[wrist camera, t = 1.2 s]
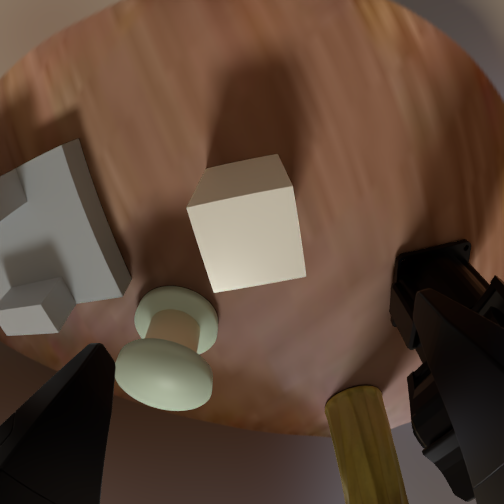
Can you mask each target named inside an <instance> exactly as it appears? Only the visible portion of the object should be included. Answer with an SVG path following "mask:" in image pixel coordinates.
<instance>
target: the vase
mask: <svg viewBox="0 0 504 504" xmlns="http://www.w3.org/2000/svg"><path fill="white" fill-rule="evenodd" d="M325 414H326V417H327V420H328V424H329V428H330V433H331V437H332V441H333V445H334V449H335V454H336V458H337V462H338V467H339V472H340V476H341V481H342V486H343V492H344V498H345V503H346V504H409V503H408V499H407V495H406V491H405V487H404V482H403V478H402V474H401V470H400V466H399V462H398V458H397V454H396V450H395V446H394V443H393V438H392V434H391V429H390V425H389V421H388V417H387V414H386V410H385V406H384V403H383V398H382V393H381V391H380V390H379V389H378V388H376V387H374V386H357V387H353V388H349V389H346V390H344V391H341V392H340V393H338V394H336V395H335V396H333V397H332V398H331V399H330V400H329V401H328V402H327V404H326V406H325Z"/></svg>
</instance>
